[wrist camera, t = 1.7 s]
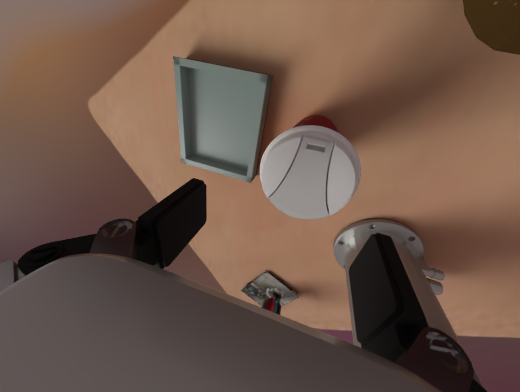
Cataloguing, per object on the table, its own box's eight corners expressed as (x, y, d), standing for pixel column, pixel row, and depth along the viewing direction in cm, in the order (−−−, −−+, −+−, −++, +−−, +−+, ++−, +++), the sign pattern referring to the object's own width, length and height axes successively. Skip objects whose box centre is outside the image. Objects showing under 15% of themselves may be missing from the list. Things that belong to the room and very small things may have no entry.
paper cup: (292, 100, 24) (262, 118, 12) (355, 112, 23) (386, 144, 11) (280, 158, 28) (250, 211, 17) (332, 170, 27) (338, 237, 15)
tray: (272, 75, 23) (267, 75, 21) (255, 175, 31) (250, 182, 29) (185, 58, 25) (173, 56, 23) (190, 157, 33) (181, 162, 31)
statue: (268, 265, 43) (250, 334, 30) (299, 289, 44) (295, 366, 31) (242, 286, 48) (217, 354, 35) (270, 307, 49) (256, 381, 36)
